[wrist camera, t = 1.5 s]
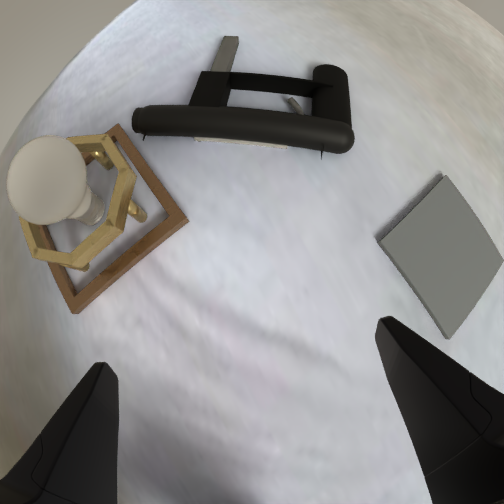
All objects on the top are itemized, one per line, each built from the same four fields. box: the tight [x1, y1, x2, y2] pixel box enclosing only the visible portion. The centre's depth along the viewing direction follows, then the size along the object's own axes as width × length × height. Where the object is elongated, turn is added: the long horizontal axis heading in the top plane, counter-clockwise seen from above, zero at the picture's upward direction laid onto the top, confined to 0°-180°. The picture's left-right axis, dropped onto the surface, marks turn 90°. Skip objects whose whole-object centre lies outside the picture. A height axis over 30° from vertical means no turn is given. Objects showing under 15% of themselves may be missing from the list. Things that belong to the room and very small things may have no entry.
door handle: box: [132, 36, 355, 160], centre depth 25 cm, size 3×20×16 cm
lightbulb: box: [6, 135, 105, 226], centre depth 19 cm, size 6×6×11 cm
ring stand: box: [19, 123, 189, 314], centre depth 22 cm, size 13×13×5 cm
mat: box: [378, 175, 504, 339], centre depth 22 cm, size 11×11×1 cm
